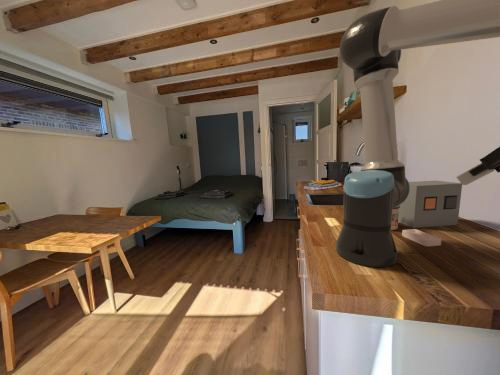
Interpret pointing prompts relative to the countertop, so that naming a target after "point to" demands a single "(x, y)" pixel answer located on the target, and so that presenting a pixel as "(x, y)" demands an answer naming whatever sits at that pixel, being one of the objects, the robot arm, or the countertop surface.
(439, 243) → the soap bar
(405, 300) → the countertop surface
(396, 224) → the teacup with lid
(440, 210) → the panel
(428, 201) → the plunger
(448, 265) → the countertop surface
